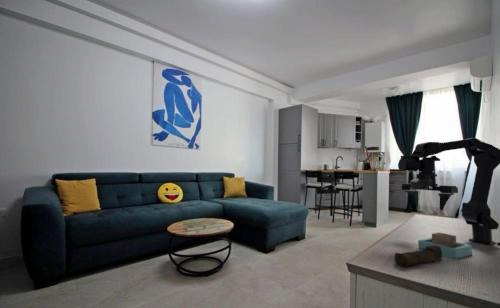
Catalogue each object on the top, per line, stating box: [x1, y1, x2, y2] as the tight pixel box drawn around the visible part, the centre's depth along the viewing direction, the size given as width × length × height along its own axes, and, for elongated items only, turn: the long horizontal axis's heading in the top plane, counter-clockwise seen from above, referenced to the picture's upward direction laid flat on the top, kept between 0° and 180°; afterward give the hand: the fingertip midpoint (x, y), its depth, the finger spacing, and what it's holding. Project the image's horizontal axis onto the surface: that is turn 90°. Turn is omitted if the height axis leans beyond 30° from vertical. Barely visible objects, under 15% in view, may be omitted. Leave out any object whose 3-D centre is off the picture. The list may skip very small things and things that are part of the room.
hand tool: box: [394, 246, 443, 269], centre depth 70 cm, size 19×4×5 cm, turn 107°
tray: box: [417, 237, 473, 260], centre depth 81 cm, size 11×11×3 cm
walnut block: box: [431, 232, 457, 248], centre depth 81 cm, size 5×5×5 cm
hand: (428, 208), depth 96 cm, fingers open, 9 cm apart
